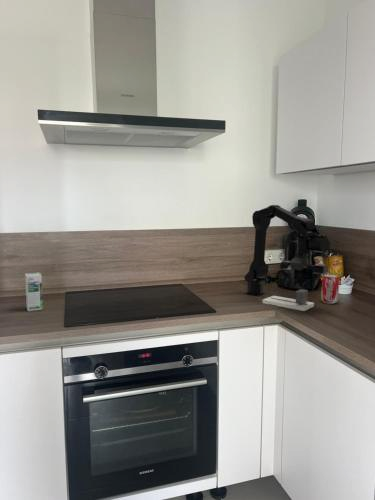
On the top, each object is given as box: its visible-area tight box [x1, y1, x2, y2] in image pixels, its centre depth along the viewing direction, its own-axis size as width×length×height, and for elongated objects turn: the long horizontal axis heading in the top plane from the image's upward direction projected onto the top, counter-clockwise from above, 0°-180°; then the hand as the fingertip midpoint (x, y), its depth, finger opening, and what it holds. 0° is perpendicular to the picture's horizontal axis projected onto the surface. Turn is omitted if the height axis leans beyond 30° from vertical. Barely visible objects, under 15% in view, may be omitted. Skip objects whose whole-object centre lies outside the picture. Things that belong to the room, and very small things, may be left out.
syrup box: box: [24, 272, 44, 312], centre depth 155 cm, size 6×6×14 cm
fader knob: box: [295, 289, 309, 304], centre depth 162 cm, size 3×5×5 cm, turn 140°
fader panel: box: [262, 295, 315, 312], centre depth 166 cm, size 19×10×2 cm, turn 50°
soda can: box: [320, 273, 340, 305], centre depth 170 cm, size 7×7×12 cm
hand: (302, 287), depth 161 cm, fingers open, 9 cm apart
